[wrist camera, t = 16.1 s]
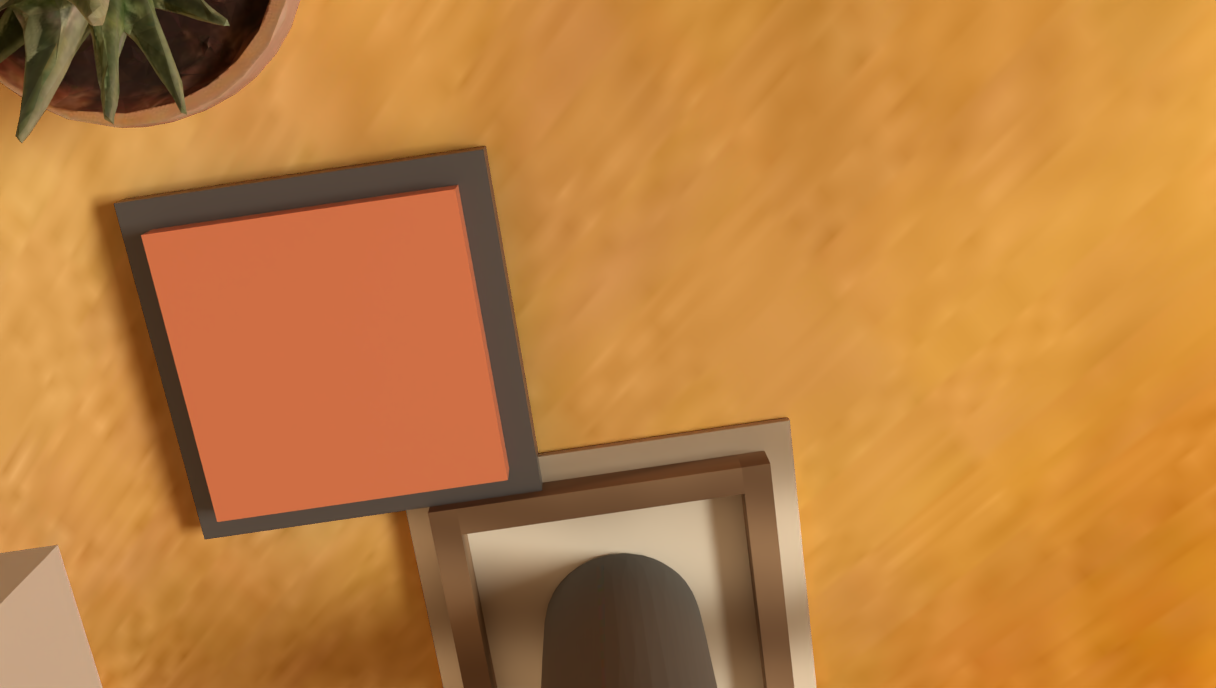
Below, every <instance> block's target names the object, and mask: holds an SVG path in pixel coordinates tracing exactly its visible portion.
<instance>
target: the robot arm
mask: <svg viewBox="0 0 1216 688" xmlns="http://www.w3.org/2000/svg"><path fill="white" fill-rule="evenodd" d="M0 688H102V684H101V681H100V678H99V675H98V672H97V668H96V665H95V662H94V659H93V656H92V653H91V649H90V646H89V643H88V640H87V637H86V633H85V630H84V627H83V624H82V621H81V617H80V614H79V611H78V608H77V605H76V602H75V598H74V595H73V592H72V589H71V586H70V582H69V579H68V576H67V573H66V570H65V566H64V563H63V560H62V557H61V554H60V550H59V547H58V545H54V546H47V547H40V548H33V549H26V550H19V551H13V552H6V553H0Z"/></svg>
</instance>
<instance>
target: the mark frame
mask: <svg viewBox="0 0 1216 688" xmlns="http://www.w3.org/2000/svg"><path fill="white" fill-rule="evenodd" d="M538 459H539V465H540V470H541V476H542V482H543V484H542V491H536V492H529V493H522V494H515V495H509V496H502V497H495V498H488V499H481V500H474V501H467V502H460V503H453V504H446V505H439V506H432V507H426V508H419V509H412V510H406V513H407V518H408V523H409V528H410V532H411V537H412V542H413V546H414V551H415V556H416V561H417V565H418V570H419V575H420V580H421V584H422V589H423V594H424V598H425V603H426V608H427V613H428V617H429V622H430V627H431V631H432V636H433V641H434V646H435V650H436V655H437V660H438V665H439V669H440V674H441V679H442V683H443V688H541V678H542V656H543V639H544V623H545V617H546V612H547V608H548V604H549V602H550V599H551V597H552V595H553V593H554V591H555V589H556V588H557V587H558V585H559V584H560V582H561V581H562V580H563V579H564V578H565V577H566V576H567V575H568V574H569V573H571V572H572V571H573V570H575V569H576V568H577V567H579V566H580V565H582V564H584V563H586V562H588V561H590V560H592V559H595V558H599V557H602V556H606V555H610V554H622V553H627V554H636V555H644V556H647V557H650V558H653V559H656V560H658V561H660V562H662V563H664V564H665V565H667V566H669V567H670V568H672V569H673V570H675V571H676V572H677V573H678V574H679V575H680V576H681V577H682V578H683V579H684V580H685V581H686V583H687V584H688V586H689V587H690V589H691V591H692V592H693V594H694V597H695V599H696V601H697V604H698V607H699V610H700V614H701V618H702V622H703V626H704V630H705V634H706V639H707V643H708V648H709V652H710V657H711V661H712V666H713V670H714V675H715V679H716V684H717V688H816V678H815V668H814V659H813V649H812V639H811V629H810V619H809V609H808V599H807V589H806V579H805V569H804V559H803V549H802V539H801V529H800V519H799V509H798V499H797V489H796V479H795V469H794V459H793V449H792V439H791V429H790V420H789V418H781V419H775V420H768V421H761V422H754V423H747V424H740V425H733V426H726V427H719V428H712V429H705V430H699V431H692V432H685V433H678V434H671V435H664V436H657V437H650V438H643V439H636V440H629V441H623V442H616V443H609V444H602V445H595V446H588V447H581V448H574V449H567V450H560V451H554V452H547V453H540V454H538Z"/></svg>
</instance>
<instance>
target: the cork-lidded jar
mask: <svg viewBox="0 0 1216 688" xmlns="http://www.w3.org/2000/svg"><path fill="white" fill-rule="evenodd" d="M541 688H717V684H716V679H715V675H714V670H713V666H712V661H711V657H710V652H709V648H708V643H707V639H706V634H705V630H704V626H703V622H702V618H701V614H700V610H699V607H698V604H697V601H696V599H695V597H694V594H693V592H692V591H691V589H690V587H689V586H688V584H687V583H686V581H685V580H684V579H683V578H682V577H681V576H680V575H679V574H678V573H677V572H676V571H675V570H673V569H672V568H670V567H669V566H667V565H665V564H664V563H662V562H660V561H658V560H656V559H653V558H650V557H647V556H644V555H636V554H627V553H622V554H610V555H606V556H602V557H599V558H595V559H592V560H590V561H588V562H586V563H584V564H582V565H580V566H579V567H577V568H576V569H575V570H573V571H572V572H571V573H569V574H568V575H567V576H566V577H565V578H564V579H563V580H562V581H561V582H560V584H559V585H558V587H557V588H556V589H555V591H554V593H553V595H552V597H551V599H550V602H549V604H548V608H547V612H546V617H545V623H544V639H543V656H542V678H541Z"/></svg>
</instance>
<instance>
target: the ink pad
mask: <svg viewBox="0 0 1216 688" xmlns="http://www.w3.org/2000/svg"><path fill="white" fill-rule="evenodd" d="M114 206H115V210H116V214H117V217H118V221H119V225H120V228H121V232H122V236H123V240H124V243H125V247H126V251H127V254H128V258H129V262H130V265H131V269H132V273H133V276H134V280H135V284H136V288H137V291H138V295H139V299H140V302H141V306H142V310H143V313H144V317H145V321H146V324H147V328H148V332H149V336H150V339H151V343H152V347H153V350H154V354H155V358H156V361H157V365H158V369H159V372H160V376H161V380H162V384H163V387H164V391H165V395H166V398H167V402H168V406H169V409H170V413H171V417H172V420H173V424H174V428H175V432H176V435H177V439H178V443H179V446H180V450H181V454H182V457H183V461H184V465H185V468H186V472H187V476H188V480H189V483H190V487H191V491H192V494H193V498H194V502H195V505H196V509H197V513H198V516H199V520H200V524H201V528H202V531H203V535H204V539H211V538H218V537H225V536H232V535H239V534H246V533H253V532H260V531H266V530H273V529H280V528H287V527H294V526H301V525H308V524H315V523H322V522H329V521H336V520H343V519H349V518H356V517H363V516H370V515H377V514H384V513H391V512H398V511H405V510H412V509H419V508H426V507H432V506H439V505H446V504H453V503H460V502H467V501H474V500H481V499H488V498H495V497H502V496H509V495H515V494H522V493H529V492H536V491H542V484H543V482H542V476H541V470H540V465H539V459H538V448H537V443H536V437H535V431H534V425H533V419H532V413H531V408H530V402H529V396H528V390H527V384H526V378H525V373H524V367H523V361H522V355H521V349H520V343H519V337H518V332H517V326H516V320H515V314H514V308H513V302H512V297H511V291H510V285H509V279H508V273H507V267H506V262H505V256H504V250H503V244H502V238H501V232H500V227H499V221H498V215H497V209H496V203H495V197H494V192H493V186H492V180H491V174H490V168H489V162H488V157H487V151H486V146H481V147H474V148H468V149H461V150H454V151H447V152H440V153H433V154H427V155H420V156H413V157H406V158H399V159H393V160H386V161H379V162H372V163H365V164H358V165H352V166H345V167H338V168H331V169H324V170H318V171H311V172H304V173H297V174H290V175H283V176H277V177H270V178H263V179H256V180H249V181H243V182H236V183H229V184H222V185H215V186H208V187H202V188H195V189H188V190H181V191H174V192H168V193H161V194H154V195H147V196H140V197H133V198H127V199H124V200H121V201H119V202H116V203H114Z"/></svg>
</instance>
